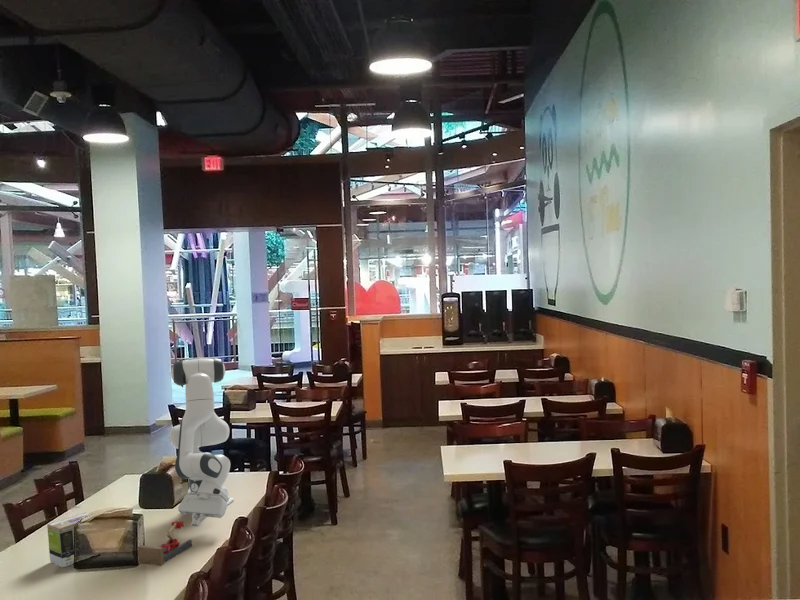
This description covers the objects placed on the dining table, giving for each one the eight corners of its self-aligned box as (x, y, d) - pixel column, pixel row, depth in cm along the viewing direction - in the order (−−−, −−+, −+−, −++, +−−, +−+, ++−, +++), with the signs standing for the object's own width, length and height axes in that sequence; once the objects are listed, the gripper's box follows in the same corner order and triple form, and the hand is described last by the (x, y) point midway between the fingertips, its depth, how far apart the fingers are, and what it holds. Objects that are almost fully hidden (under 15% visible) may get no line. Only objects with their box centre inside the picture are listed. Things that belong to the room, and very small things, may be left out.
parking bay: (172, 544, 277) (171, 529, 277) (193, 546, 273) (193, 531, 273) (138, 563, 259) (137, 546, 259) (161, 565, 256) (160, 549, 256)
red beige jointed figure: (159, 558, 263) (157, 532, 263) (176, 544, 276) (175, 520, 276) (167, 558, 262) (166, 532, 262) (184, 544, 276) (183, 520, 276)
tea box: (88, 549, 276) (86, 511, 275) (102, 555, 269) (99, 516, 269) (49, 562, 264) (46, 523, 264) (62, 568, 258) (59, 527, 257)
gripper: (183, 488, 293) (169, 519, 284) (226, 491, 286) (212, 523, 277) (190, 495, 298) (177, 526, 289) (233, 498, 290) (220, 531, 281)
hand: (194, 525), depth 283 cm, fingers closed
